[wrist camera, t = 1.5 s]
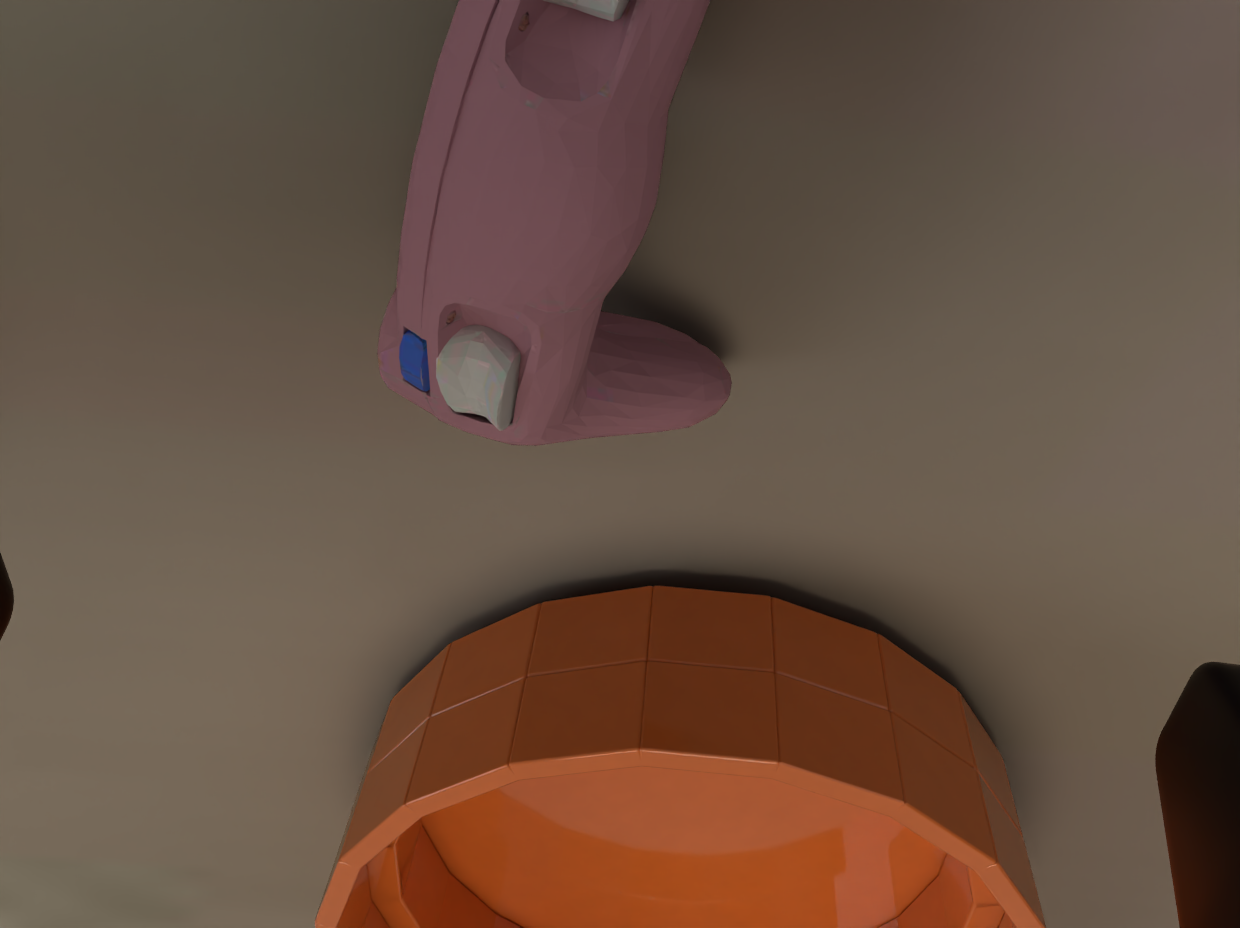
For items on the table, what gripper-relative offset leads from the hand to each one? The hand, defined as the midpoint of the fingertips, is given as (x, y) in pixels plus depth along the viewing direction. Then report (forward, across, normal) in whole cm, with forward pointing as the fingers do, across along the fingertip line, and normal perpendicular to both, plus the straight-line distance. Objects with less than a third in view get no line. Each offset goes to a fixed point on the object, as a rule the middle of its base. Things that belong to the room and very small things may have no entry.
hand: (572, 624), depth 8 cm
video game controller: (+12, 0, 0) cm, 12 cm away
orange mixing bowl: (+12, -2, +18) cm, 22 cm away
